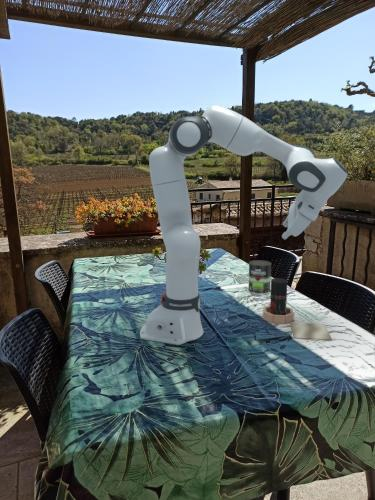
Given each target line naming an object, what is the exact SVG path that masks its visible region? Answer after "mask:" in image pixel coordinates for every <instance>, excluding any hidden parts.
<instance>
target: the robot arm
mask: <svg viewBox="0 0 375 500" xmlns="http://www.w3.org/2000/svg"><path fill="white" fill-rule="evenodd" d="M207 143H212V144H215V145H218V146H220V147H222V148H223V149H225V150H227V151H229V152H230V153H233V154H235V155H238V156H242V157H247V156H249V155H252V154H253V153H256V152H257V153H258V152H260V153H263V154H266V155H267V156H270V157H272V158H274V159H276V160H278V161H280V162H281V163H282V164H283V166H284V167H285V169H286V173H287V178H288V180H289V182H290V184H291V185H292V186H293V187H295V188H298V189H300V190H301V191H300V192H299V194H297V196H296V197H295V198H294V201H293V202H292V204H290V207H289V209H288V215H287V217H286V218H285V220H284V221H283V222H282V226H283V227H285V228H287V229H286V231H284V232H283V233H282V234H281V238H282V239H283V240H287V239H288V238H289V237H290V236H293V237H297V236H299V235H300V234H302V233H303V232H304V231H305V229H307V228H308V227H309V225H310V224H311V223H312V222H315V221H316V220H317V219H318V218H319V217H318V216H319V213H320V211H321V210H322V208H323V207H324V205H326V203H327V201H328V199H329V198H330V197H332V196H333V195H334V194H335V193H337V191H338V190H339V189H340V187H341V186H342V185H343V184H344V182H345V181H346V179H347V178H348V175H349V174H348V170H347V169H346V167H345V166H344V165H343V163H342V162H341V161H340V160H339V159H337V158H335V157H331V158H316V155H315V152H314V151H313V150H312V149H311V148H310V147H308V146H306V145H303V144H293V143H290V142H287V141H286V140H284V139H281V138H279V137H277V136H275V135H273V134H272V133H269V132H267V131H266V130H264V129H263V128H262V127H260V126H259V125H258V124H256V123H255V122H254V121H252V120H250V119H249V118H247V117H246V116H244V115H242V114H240V113H238V112H237V111H234V110H232V109H230V108H227V107H225V106H221V105H218V104H213V105H210V106H209V107H207V108H206V109H205V110H204V112H203V113H202V115H197V116H196V115H195V116H194V115H193V116H191V115H188V116H183V117H180V118H179V119H177V120H175V122H174V123H173V124H172V125H171V127H170V130H169V132H168V138H167V142H166V144H165V145H162V146H159V147H157V148H155V149H153V150H152V151H151V152H150V153H149V156H148V157H149V158H148V161H149V162H148V163H149V175H150V183H151V188H152V191H153V192H152V193H153V196H154V200H155V205H156V211H157V216H158V222H159V225H160V227H159V228H160V230H161V231H160V232H161V236H162V240H163V243H164V246H165V289H166V290H164V291H163V292H162V294H161V297H160V301H159V302H160V305H159V306H157V307H156V308H154V309H152V311H151V312H150V313H149V314H148V316H147V318H146V322H145V324H144V325H143V326H142V327H141V328H140V330H139V338H140V339H141V340H147V341H152V342H158V343H165V344H170V345H177V346H181V345H184V344H185V343H187V342H191V341H195V340H197V339H200V337H202V336H203V335H204V328H203V325H202V322H201V320H202V319H201V314H200V309H201V298H200V297H201V296H200V293H199V267H200V266H199V265H200V264H199V263H200V255H201V252H200V251H201V238H200V235H199V234H198V232H197V231H196V230H195V228H194V227H193V221H192V213H191V199H190V194H189V189H188V184H187V179H186V174H185V169H184V168H185V167H184V164H185V163H184V162H185V160H186V159H187V158H188V157H191V156H193V155H196V154H197V153H199V152H200V150H201V149H202V148H203V147H204V146H205V145H206V144H207Z"/></svg>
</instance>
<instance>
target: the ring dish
mask: <svg viewBox="0 0 375 500" xmlns="http://www.w3.org/2000/svg"><path fill="white" fill-rule="evenodd" d="M262 309H263V310H262V315H263V316H262V318H263V320H264V321H267V322H269V323H271V324H280V325H282V324H283V325H285V324H290V322H294V318H295V317H294V314H295V312H294V309H293V308H291V307H290V306H286V315H273V314H271V313H270V304H269V305H266V306H263V308H262Z"/></svg>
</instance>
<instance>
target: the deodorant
mask: <svg viewBox="0 0 375 500" xmlns="http://www.w3.org/2000/svg"><path fill="white" fill-rule="evenodd" d="M287 295H288V280H287V279H285V278H281V277H275V278H271V282H270V303H269V305H270V313H271V314H273V315H286V307H287V303H288V302H287V298H288V296H287Z"/></svg>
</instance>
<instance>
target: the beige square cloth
mask: <svg viewBox="0 0 375 500" xmlns="http://www.w3.org/2000/svg"><path fill="white" fill-rule="evenodd" d="M289 324H290V328H291V332H292V335H293V339H295V340H297V339H298V340H311V339H318V340H317V341H329V340H332V341H333V338H332V336H331V334H330V332H329V330H328V328H327V326H326V325H325V323H316V322H314V323H312V322H294V321H291V322H289Z"/></svg>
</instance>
